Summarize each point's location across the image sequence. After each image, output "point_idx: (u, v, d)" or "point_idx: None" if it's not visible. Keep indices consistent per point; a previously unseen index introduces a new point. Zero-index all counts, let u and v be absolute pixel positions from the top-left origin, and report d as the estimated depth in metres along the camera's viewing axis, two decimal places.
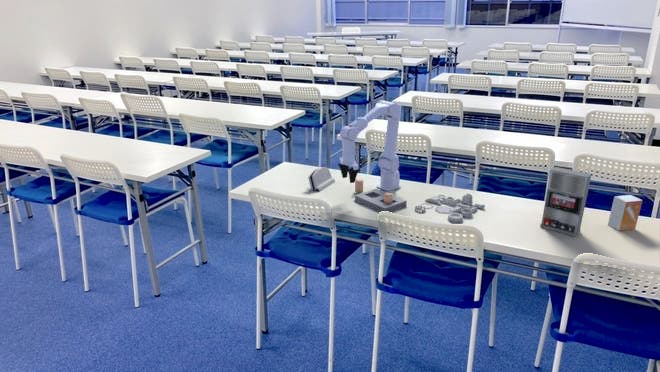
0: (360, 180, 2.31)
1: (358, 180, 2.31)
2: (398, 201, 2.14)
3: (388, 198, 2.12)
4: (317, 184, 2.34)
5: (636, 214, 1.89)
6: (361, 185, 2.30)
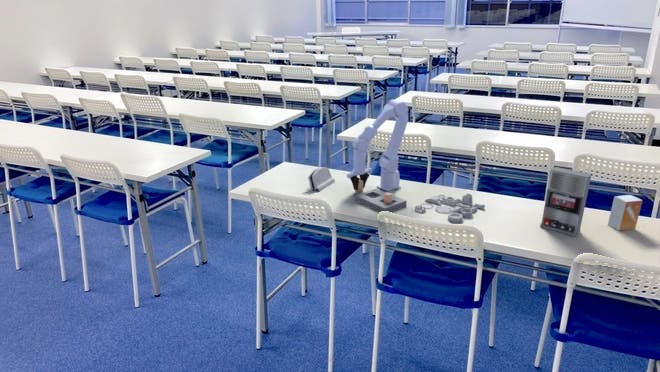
0: (360, 180, 2.31)
1: None
2: (398, 201, 2.14)
3: (388, 198, 2.12)
4: (317, 184, 2.34)
5: (636, 214, 1.89)
6: (361, 185, 2.30)
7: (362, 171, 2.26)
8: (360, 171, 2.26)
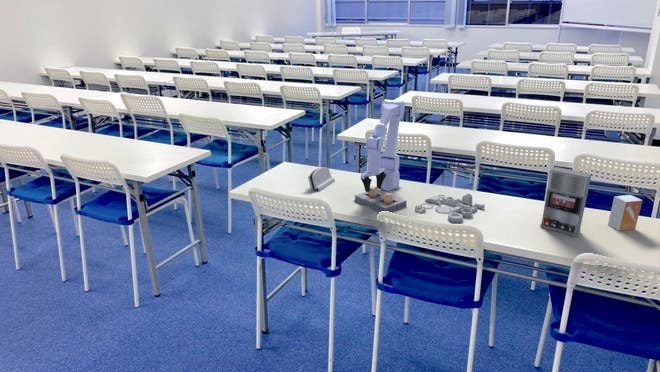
0: (374, 188, 2.21)
1: (372, 188, 2.21)
2: (398, 201, 2.14)
3: (388, 198, 2.12)
4: (317, 184, 2.34)
5: (636, 214, 1.89)
6: (375, 193, 2.20)
7: (377, 171, 2.15)
8: (375, 171, 2.15)
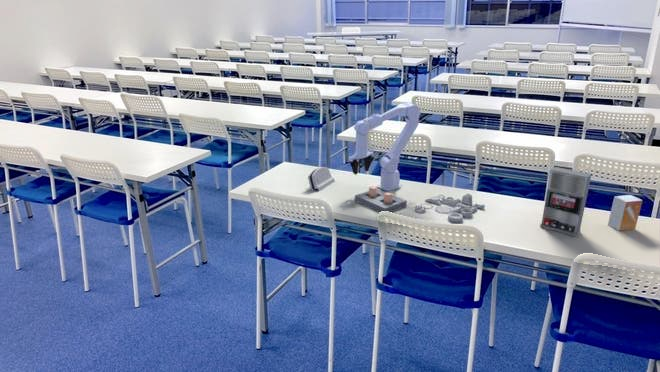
0: (374, 188, 2.21)
1: (372, 187, 2.21)
2: (398, 201, 2.14)
3: (388, 198, 2.12)
4: (317, 184, 2.35)
5: (636, 214, 1.89)
6: (375, 193, 2.20)
7: (364, 154, 2.25)
8: (362, 154, 2.25)
